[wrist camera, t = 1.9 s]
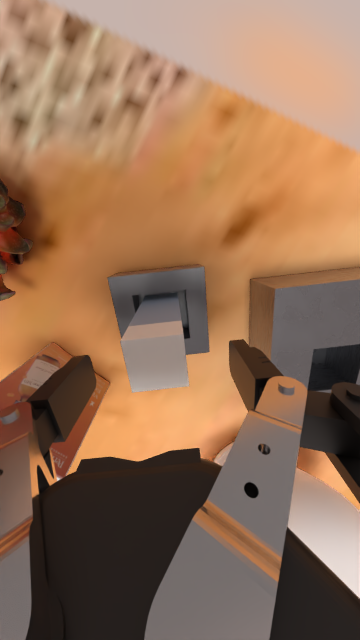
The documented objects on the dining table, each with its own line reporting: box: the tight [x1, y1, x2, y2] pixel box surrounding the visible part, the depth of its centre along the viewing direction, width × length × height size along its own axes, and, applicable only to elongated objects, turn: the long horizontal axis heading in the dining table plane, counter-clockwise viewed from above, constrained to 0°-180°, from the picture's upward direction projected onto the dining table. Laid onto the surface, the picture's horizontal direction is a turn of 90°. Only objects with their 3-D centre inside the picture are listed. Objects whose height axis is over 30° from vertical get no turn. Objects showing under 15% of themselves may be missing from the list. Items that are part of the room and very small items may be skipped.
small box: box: [0, 343, 110, 481], centre depth 18 cm, size 8×6×10 cm
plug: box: [120, 292, 189, 392], centre depth 15 cm, size 3×3×10 cm
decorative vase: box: [213, 442, 360, 598], centre depth 18 cm, size 18×18×25 cm
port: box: [249, 267, 360, 393], centre depth 20 cm, size 16×12×6 cm
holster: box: [108, 264, 209, 355], centre depth 19 cm, size 8×8×3 cm
